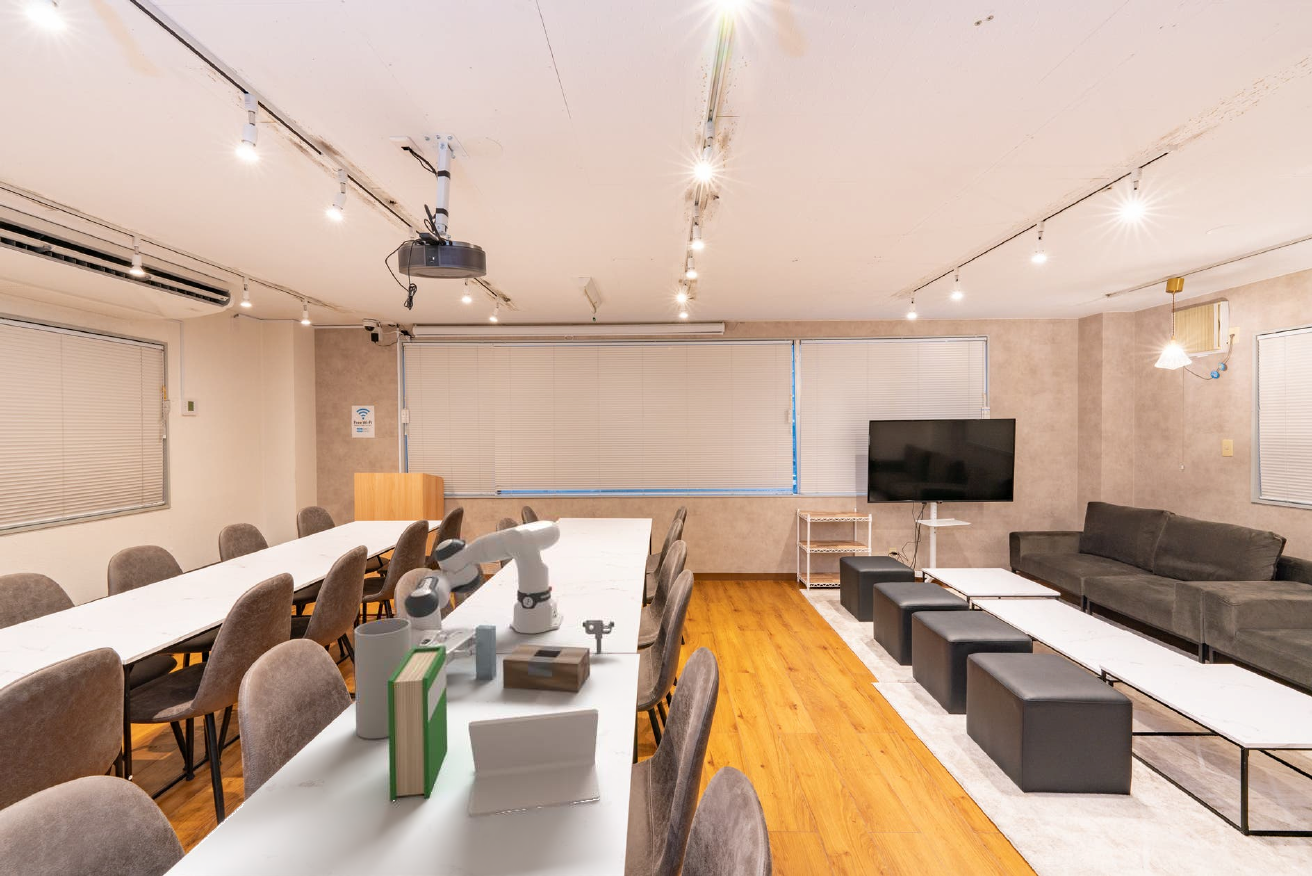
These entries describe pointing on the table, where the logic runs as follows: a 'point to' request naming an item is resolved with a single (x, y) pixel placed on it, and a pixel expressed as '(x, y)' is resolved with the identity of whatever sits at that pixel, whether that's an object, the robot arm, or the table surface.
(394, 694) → the hardback book
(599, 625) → the mechanical component
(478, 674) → the tall rectangular metal block
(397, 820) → the table surface
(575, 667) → the brown boxy piece
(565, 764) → the tablet stand
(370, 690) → the cylinder vase
